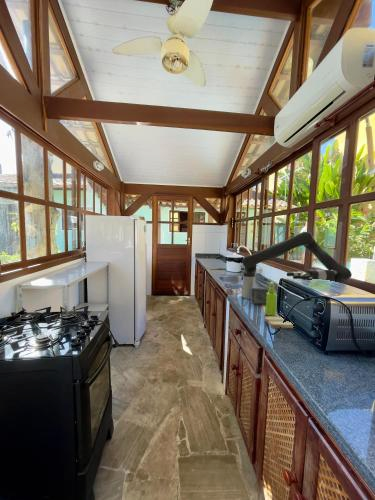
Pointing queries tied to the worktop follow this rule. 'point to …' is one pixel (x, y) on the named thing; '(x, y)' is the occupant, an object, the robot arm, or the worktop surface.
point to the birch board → (277, 322)
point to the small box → (259, 295)
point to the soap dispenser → (271, 301)
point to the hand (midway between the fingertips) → (290, 275)
